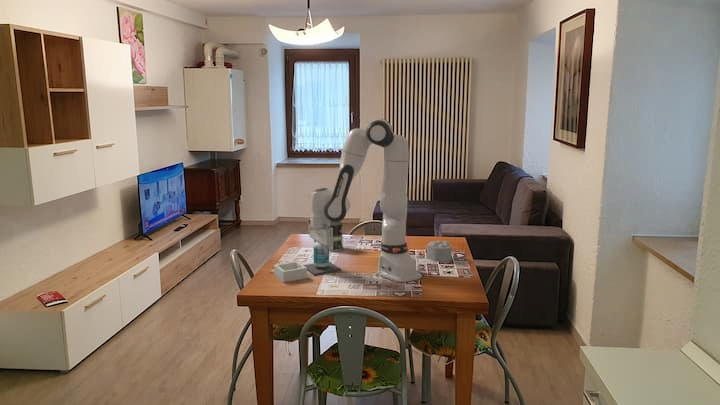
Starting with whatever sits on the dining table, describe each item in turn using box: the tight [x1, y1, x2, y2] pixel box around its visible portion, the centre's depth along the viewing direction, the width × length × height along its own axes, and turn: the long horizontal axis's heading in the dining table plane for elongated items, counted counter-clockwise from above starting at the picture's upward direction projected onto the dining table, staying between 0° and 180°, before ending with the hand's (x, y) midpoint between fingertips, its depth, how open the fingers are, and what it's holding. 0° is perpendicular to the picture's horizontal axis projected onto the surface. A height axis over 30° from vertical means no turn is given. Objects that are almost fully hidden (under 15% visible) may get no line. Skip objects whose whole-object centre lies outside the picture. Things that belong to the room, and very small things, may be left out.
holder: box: [273, 260, 308, 283], centre depth 255 cm, size 11×11×5 cm
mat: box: [302, 261, 342, 276], centre depth 266 cm, size 14×14×1 cm
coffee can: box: [329, 221, 343, 252], centre depth 298 cm, size 10×10×14 cm
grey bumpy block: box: [426, 239, 453, 263], centre depth 280 cm, size 10×13×9 cm
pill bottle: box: [313, 238, 330, 267], centre depth 264 cm, size 8×7×14 cm
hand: (321, 250), depth 264 cm, fingers closed on pill bottle, 7 cm apart
